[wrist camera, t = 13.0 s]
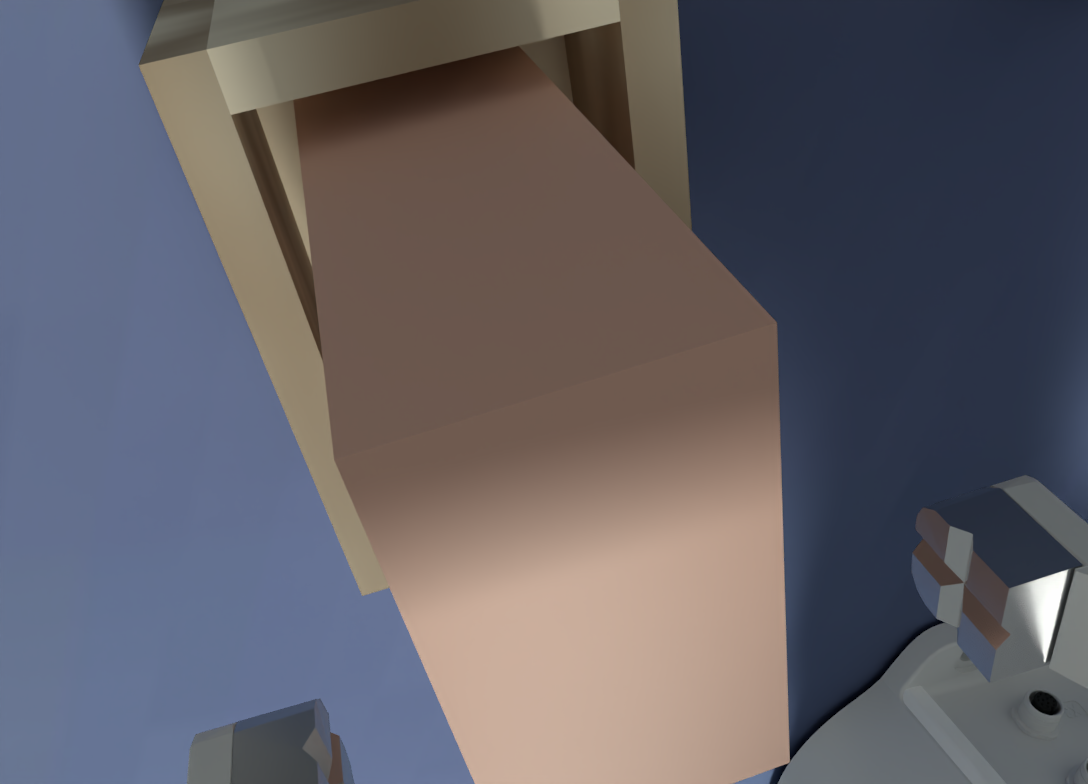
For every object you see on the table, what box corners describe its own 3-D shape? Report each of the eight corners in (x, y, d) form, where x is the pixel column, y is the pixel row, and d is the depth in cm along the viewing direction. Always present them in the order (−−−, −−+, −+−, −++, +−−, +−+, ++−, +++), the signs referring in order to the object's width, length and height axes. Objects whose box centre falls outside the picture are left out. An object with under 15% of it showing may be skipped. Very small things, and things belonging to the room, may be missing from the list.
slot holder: (588, -95, 18) (673, -59, 14) (641, 383, 25) (708, 490, 21) (163, -1, 17) (138, 65, 13) (346, 470, 24) (361, 596, 20)
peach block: (504, 30, 18) (777, 322, 9) (569, 349, 23) (789, 761, 14) (291, 87, 18) (333, 460, 8) (402, 400, 23) (510, 864, 13)
